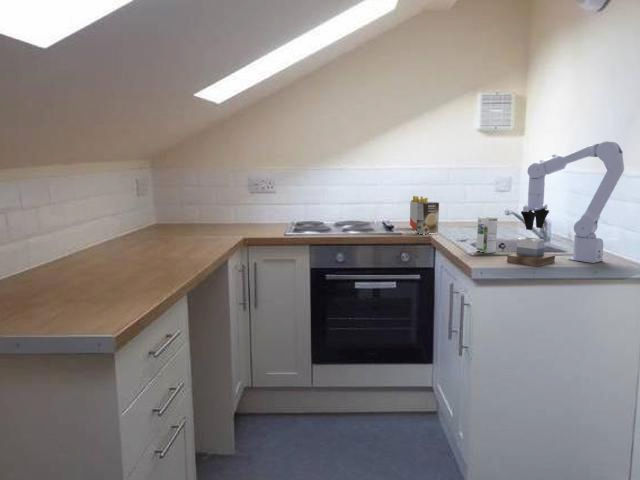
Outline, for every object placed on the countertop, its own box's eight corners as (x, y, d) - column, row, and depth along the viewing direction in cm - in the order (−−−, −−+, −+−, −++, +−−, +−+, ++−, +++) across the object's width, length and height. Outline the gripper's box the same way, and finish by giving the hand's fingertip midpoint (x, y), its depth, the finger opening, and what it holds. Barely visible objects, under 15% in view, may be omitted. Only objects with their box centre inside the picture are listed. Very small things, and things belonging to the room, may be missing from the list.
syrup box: (475, 251, 220) (477, 216, 218) (487, 250, 223) (488, 215, 220) (484, 253, 215) (485, 217, 213) (496, 252, 217) (498, 217, 215)
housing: (543, 255, 196) (544, 239, 195) (536, 257, 193) (537, 241, 192) (523, 252, 202) (524, 237, 201) (516, 254, 199) (517, 238, 198)
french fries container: (415, 228, 292) (415, 195, 289) (431, 230, 284) (432, 196, 281) (409, 229, 289) (410, 195, 286) (425, 231, 281) (426, 197, 278)
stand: (554, 262, 197) (554, 255, 196) (537, 266, 189) (537, 259, 189) (524, 257, 206) (524, 251, 205) (507, 261, 198) (507, 255, 198)
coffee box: (423, 235, 265) (424, 203, 263) (416, 234, 271) (416, 202, 269) (438, 234, 269) (439, 202, 267) (430, 232, 275) (431, 201, 272)
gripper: (536, 192, 215) (534, 226, 218) (516, 194, 206) (514, 229, 208) (553, 193, 210) (551, 227, 212) (533, 195, 201) (531, 231, 203)
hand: (534, 228), depth 210 cm, fingers open, 7 cm apart
